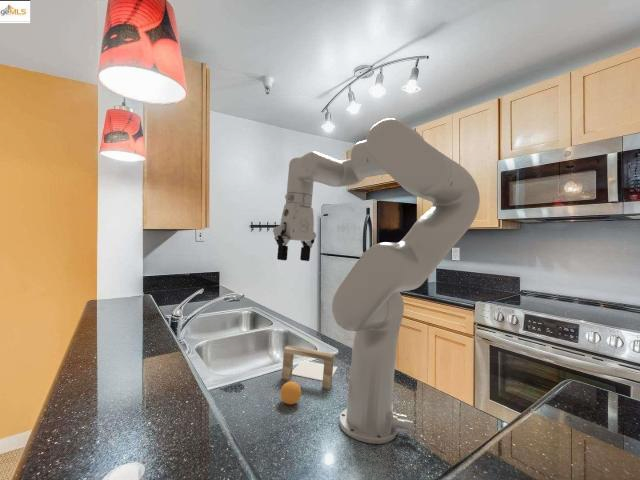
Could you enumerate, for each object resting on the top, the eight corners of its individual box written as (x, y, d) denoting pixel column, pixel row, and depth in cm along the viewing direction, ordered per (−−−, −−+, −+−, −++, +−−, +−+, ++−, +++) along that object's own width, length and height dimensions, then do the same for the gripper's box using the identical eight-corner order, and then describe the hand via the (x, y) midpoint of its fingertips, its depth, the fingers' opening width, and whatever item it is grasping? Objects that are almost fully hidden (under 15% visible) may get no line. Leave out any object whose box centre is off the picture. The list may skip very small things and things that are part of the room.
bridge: (285, 374, 90) (288, 345, 91) (331, 384, 87) (334, 353, 87) (281, 378, 88) (284, 348, 88) (329, 389, 84) (331, 357, 84)
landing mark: (337, 367, 99) (337, 366, 99) (329, 382, 88) (329, 381, 88) (302, 360, 103) (302, 360, 103) (289, 374, 91) (289, 373, 91)
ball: (303, 400, 76) (304, 380, 76) (296, 410, 71) (298, 388, 72) (284, 396, 78) (286, 376, 78) (276, 405, 73) (278, 384, 73)
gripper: (287, 195, 80) (281, 261, 80) (326, 206, 94) (322, 262, 94) (267, 196, 85) (262, 258, 84) (308, 206, 99) (303, 259, 98)
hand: (293, 260), depth 89 cm, fingers open, 9 cm apart
